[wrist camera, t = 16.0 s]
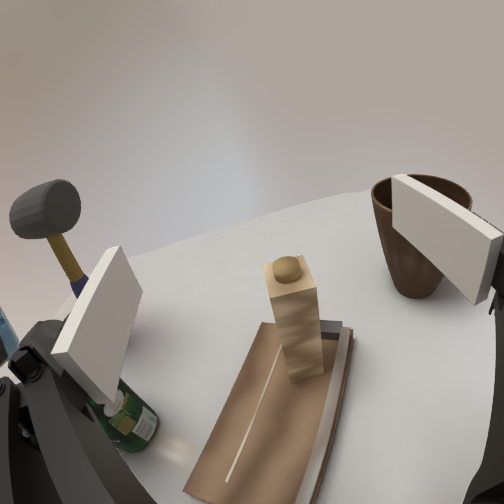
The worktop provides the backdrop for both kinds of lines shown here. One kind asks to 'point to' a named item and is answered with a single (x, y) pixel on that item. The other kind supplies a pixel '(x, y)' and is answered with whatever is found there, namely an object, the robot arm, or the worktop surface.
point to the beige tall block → (296, 316)
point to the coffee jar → (109, 415)
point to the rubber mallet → (51, 222)
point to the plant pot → (400, 249)
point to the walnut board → (274, 426)
